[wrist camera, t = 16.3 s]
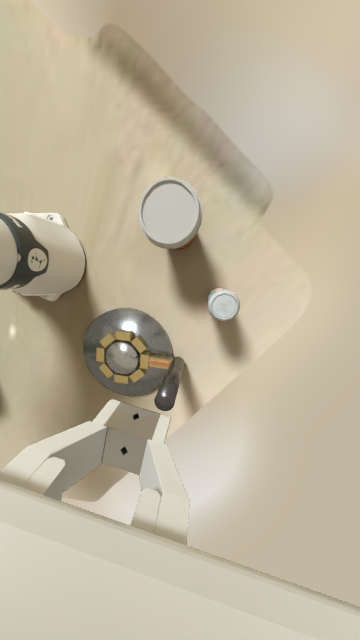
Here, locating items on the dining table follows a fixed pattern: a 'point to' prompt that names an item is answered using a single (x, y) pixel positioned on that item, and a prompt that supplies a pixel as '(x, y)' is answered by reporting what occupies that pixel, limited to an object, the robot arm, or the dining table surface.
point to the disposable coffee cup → (170, 213)
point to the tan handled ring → (145, 367)
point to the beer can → (223, 304)
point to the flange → (127, 350)
